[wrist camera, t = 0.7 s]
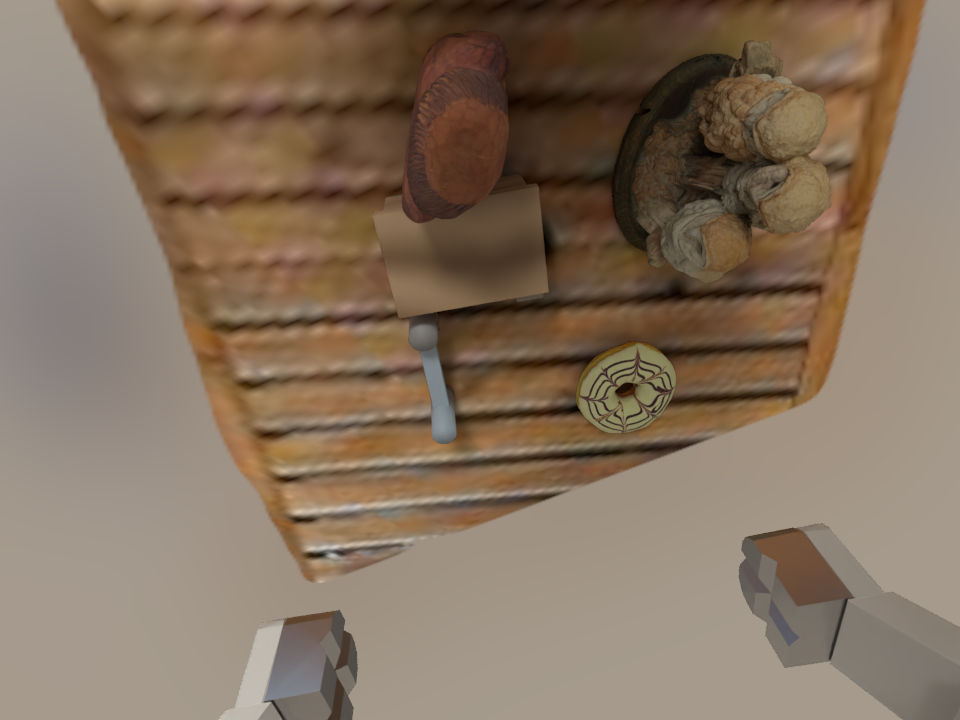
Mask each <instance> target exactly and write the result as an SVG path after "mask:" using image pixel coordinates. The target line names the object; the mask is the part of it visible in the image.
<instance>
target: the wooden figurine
mask: <svg viewBox="0 0 960 720" xmlns="http://www.w3.org/2000/svg"><path fill="white" fill-rule="evenodd" d="M506 54H507V51H506V50H505V46H504V44H503V42H502V40H501V39H500V38H499V36H498V35H496V34H493V33H490V32H482V31H468V32H466V33H465V34H459V33H457V34H449V35H446V36H445V37H443V38H441V39H439V40H438V41H437V42H436V43H435V44H434V45H432V46H431V48H429V50H428V52H427V54H426V56H425V58H424V60H423V63H422V66H421V69H420V73H419V77H418V83H417V89H416V95H415V102H414V107H413V111H412V117H411V123H410V131H409V136H408V142H407V149H406V158H405V169H404V175H403V185H402V208H403V211H404V213H405V214H406V216H407V217H408V218H409V219H410V220H411V221H413V222H415V223H425V222H429V221H431V220H433V219H435V218H439V219H453V218H456V217H458V216H459V215H461V214H462V213H463V212H465V211H467V210H468V209H470V208H472V207H473V206H474V205H476V204H477V203H479V202H480V201H482V200H483V199H485V198H486V197H487V196H488V195H489V194H490V192H491V191H492V190H493V188H494V187H495V185H496V183H497V181H498V180H499V178H500V176H501V173H502V169H503V166H504V162H505V155H506V148H507V143H508V137H509V120H508V95H507V93H506V81H505V75H506V74H507V73H509V72H510V61H509V59H508V58H507V56H506Z"/></svg>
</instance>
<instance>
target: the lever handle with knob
mask: <svg viewBox="0 0 960 720" xmlns="http://www.w3.org/2000/svg"><path fill="white" fill-rule="evenodd" d="M409 342H410V345H411V346H412V347H413V348H414V349H416V350H418V351H420V354H421V358H422V362H423V367H424V371H425V375H426V379H427V383H428V387H429V391H430V395H431V414H432V437H433V439H434V440H435V441H436V442H438V443H440V444H447V443H450V442H452V441H453V440H454V439H455V438H456V435H457V433H456V420H455V408H454V392H453V390H452V388H451V387H449V386H447V385H446V383H445V379H444V374H443V370H442V365H441V361H440V356H439V352H438V347H437V342H438V332H437V318H436V315H435V314H434V313H428V314H422V315H417V316H411V317H410V325H409Z"/></svg>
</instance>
